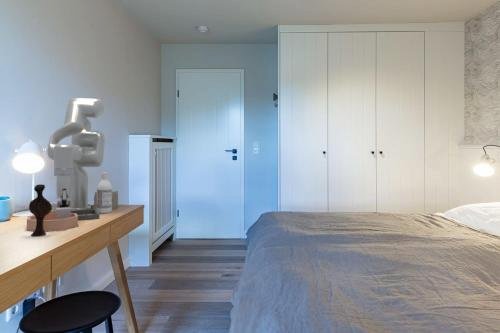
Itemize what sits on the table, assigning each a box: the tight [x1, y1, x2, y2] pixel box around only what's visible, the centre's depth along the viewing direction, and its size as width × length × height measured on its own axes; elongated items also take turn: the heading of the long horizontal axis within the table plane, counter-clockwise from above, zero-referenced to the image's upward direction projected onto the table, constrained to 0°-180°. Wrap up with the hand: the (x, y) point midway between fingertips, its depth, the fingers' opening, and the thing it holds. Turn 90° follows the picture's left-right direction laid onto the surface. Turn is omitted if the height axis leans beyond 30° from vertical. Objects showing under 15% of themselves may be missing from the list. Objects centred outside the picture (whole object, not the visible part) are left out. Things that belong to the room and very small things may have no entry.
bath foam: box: [96, 171, 113, 214], centre depth 161 cm, size 7×7×20 cm
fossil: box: [93, 190, 119, 211], centre depth 169 cm, size 12×4×10 cm, turn 147°
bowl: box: [26, 213, 79, 233], centre depth 129 cm, size 17×17×4 cm
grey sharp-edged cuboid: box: [55, 207, 71, 220], centre depth 131 cm, size 4×5×6 cm
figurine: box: [28, 183, 53, 237], centre depth 115 cm, size 7×5×18 cm
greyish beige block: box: [56, 200, 70, 208], centre depth 145 cm, size 4×5×6 cm
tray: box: [50, 208, 100, 221], centre depth 146 cm, size 15×20×2 cm
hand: (63, 212), depth 145 cm, fingers closed on greyish beige block, 4 cm apart
